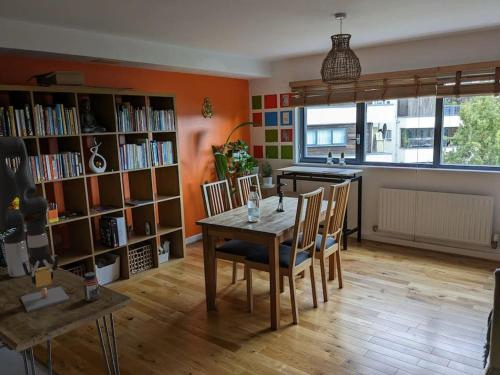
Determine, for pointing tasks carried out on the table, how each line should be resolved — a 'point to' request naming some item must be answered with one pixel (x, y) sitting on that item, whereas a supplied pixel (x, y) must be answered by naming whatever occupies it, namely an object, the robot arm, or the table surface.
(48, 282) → the mustard foam cube
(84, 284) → the supplement bottle
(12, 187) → the robot arm
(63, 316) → the table surface
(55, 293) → the thin gray plate
